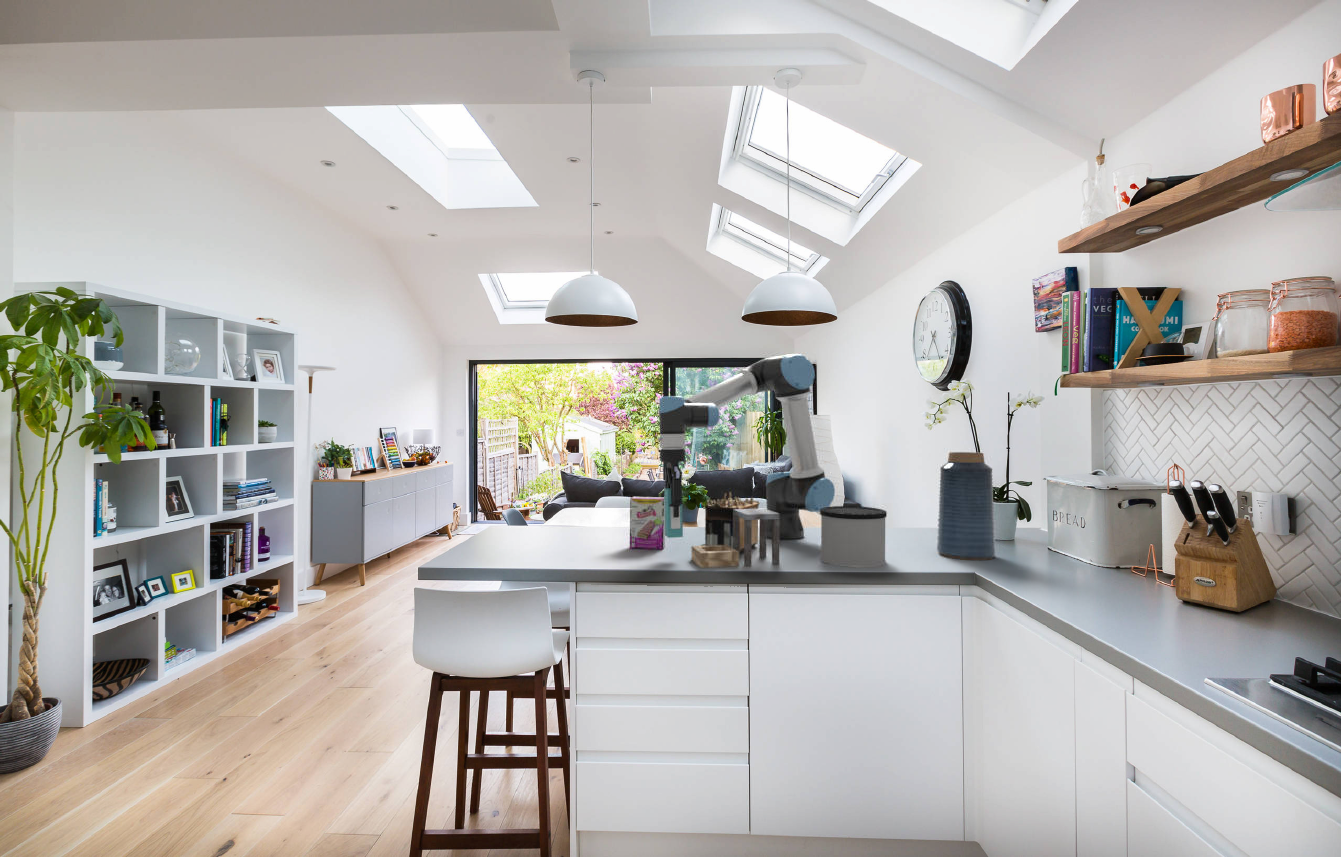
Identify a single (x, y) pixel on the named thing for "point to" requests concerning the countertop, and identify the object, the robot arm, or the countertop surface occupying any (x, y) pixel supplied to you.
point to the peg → (668, 531)
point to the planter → (727, 522)
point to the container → (853, 536)
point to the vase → (966, 508)
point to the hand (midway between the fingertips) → (673, 526)
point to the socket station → (729, 555)
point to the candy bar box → (647, 522)
